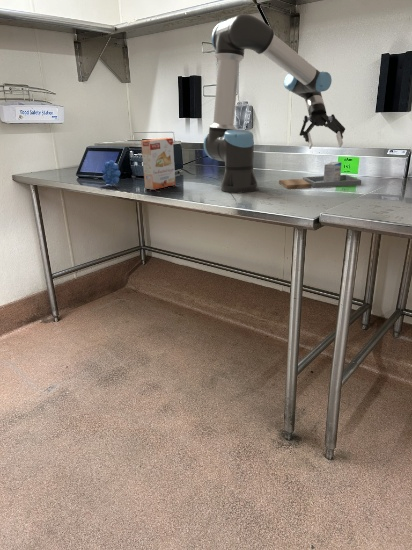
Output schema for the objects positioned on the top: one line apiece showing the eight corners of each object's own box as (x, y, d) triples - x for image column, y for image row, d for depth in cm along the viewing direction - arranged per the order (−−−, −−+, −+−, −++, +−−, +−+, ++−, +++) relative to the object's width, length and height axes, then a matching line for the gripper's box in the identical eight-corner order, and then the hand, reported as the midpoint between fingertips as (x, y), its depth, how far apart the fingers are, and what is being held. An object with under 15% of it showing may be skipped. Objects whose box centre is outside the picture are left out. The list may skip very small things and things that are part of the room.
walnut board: (287, 189, 169) (287, 185, 168) (279, 183, 181) (279, 180, 180) (310, 187, 170) (311, 183, 169) (301, 182, 182) (301, 178, 181)
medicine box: (333, 185, 171) (334, 164, 168) (323, 185, 174) (324, 164, 170) (340, 182, 177) (341, 162, 174) (330, 182, 180) (331, 161, 176)
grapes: (128, 185, 191) (125, 159, 187) (117, 188, 186) (114, 161, 182) (111, 184, 198) (108, 158, 193) (100, 186, 193) (96, 160, 188)
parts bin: (313, 187, 169) (314, 182, 168) (302, 181, 182) (302, 177, 182) (360, 185, 170) (361, 180, 169) (346, 179, 184) (346, 174, 183)
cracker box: (154, 191, 176) (149, 140, 168) (144, 190, 180) (139, 140, 172) (176, 186, 186) (173, 137, 178) (167, 184, 189) (163, 137, 181)
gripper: (340, 113, 192) (350, 150, 184) (287, 116, 190) (296, 153, 182) (345, 101, 185) (356, 138, 177) (291, 103, 183) (300, 141, 175)
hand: (326, 146), depth 179 cm, fingers open, 13 cm apart
